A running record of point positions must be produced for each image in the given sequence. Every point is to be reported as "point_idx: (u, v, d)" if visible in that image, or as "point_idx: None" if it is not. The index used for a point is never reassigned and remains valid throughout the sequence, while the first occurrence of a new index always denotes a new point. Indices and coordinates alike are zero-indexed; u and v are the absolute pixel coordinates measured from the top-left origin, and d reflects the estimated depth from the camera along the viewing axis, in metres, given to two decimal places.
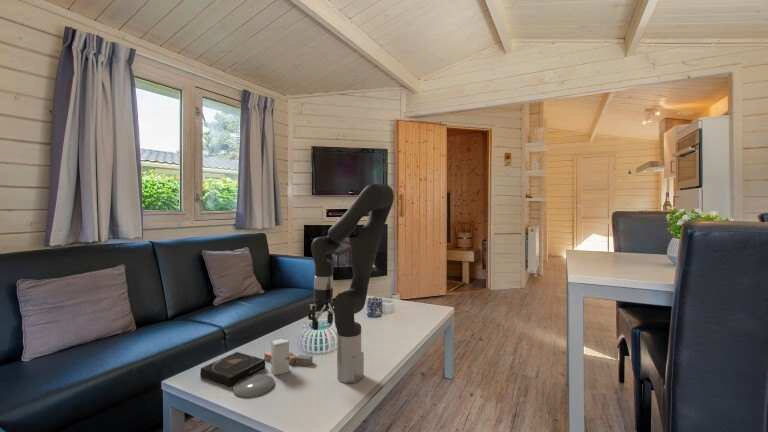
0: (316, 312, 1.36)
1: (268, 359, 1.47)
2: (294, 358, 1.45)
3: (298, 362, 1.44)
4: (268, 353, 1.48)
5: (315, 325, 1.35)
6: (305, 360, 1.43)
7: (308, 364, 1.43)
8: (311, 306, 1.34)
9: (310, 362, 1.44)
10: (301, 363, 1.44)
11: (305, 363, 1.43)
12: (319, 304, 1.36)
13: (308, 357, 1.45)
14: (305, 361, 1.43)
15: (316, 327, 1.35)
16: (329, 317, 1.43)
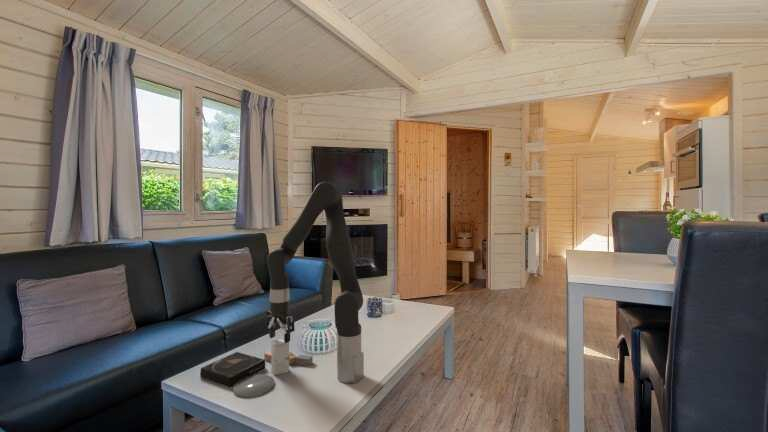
0: (286, 325, 1.36)
1: (268, 359, 1.47)
2: (293, 358, 1.44)
3: (298, 362, 1.44)
4: (268, 353, 1.48)
5: None
6: (304, 360, 1.43)
7: (308, 364, 1.43)
8: (291, 318, 1.34)
9: (310, 362, 1.44)
10: (301, 363, 1.44)
11: (305, 363, 1.43)
12: None
13: (308, 357, 1.45)
14: (305, 361, 1.43)
15: None
16: (272, 331, 1.40)
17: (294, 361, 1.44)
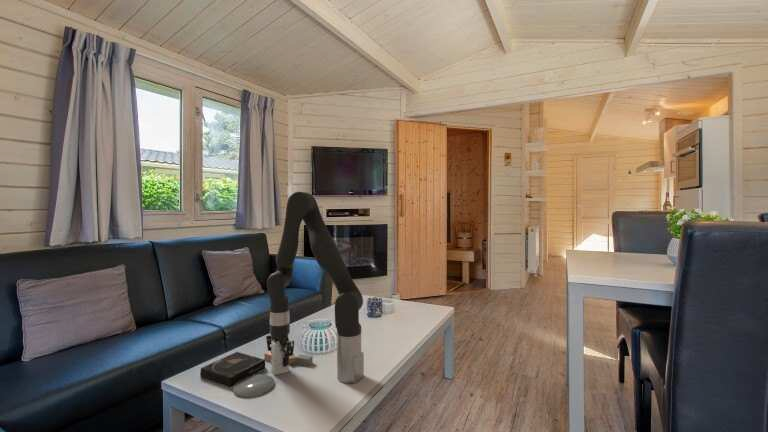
0: (285, 348, 1.36)
1: (268, 359, 1.47)
2: (293, 358, 1.44)
3: (298, 362, 1.44)
4: (268, 353, 1.48)
5: None
6: (304, 360, 1.43)
7: (307, 364, 1.43)
8: (292, 343, 1.34)
9: (310, 362, 1.44)
10: (301, 363, 1.44)
11: (305, 363, 1.43)
12: None
13: (308, 357, 1.45)
14: (305, 361, 1.43)
15: None
16: None
17: (293, 361, 1.44)
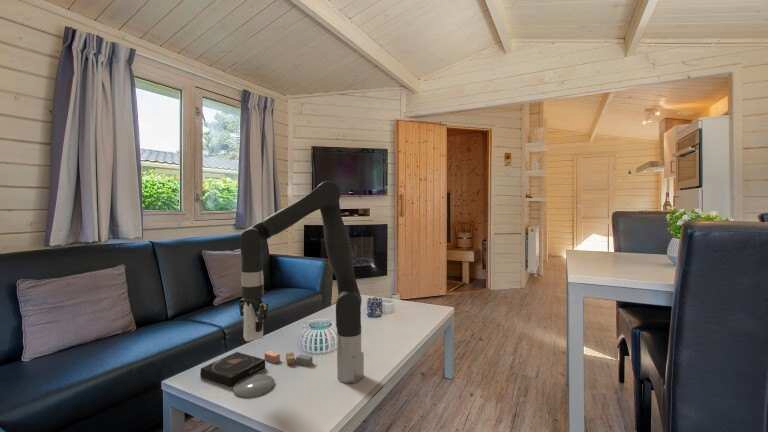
0: (258, 312, 1.24)
1: (268, 359, 1.47)
2: (291, 359, 1.44)
3: (298, 362, 1.44)
4: (268, 353, 1.48)
5: (261, 325, 1.25)
6: (304, 360, 1.43)
7: (307, 364, 1.43)
8: (265, 306, 1.22)
9: (309, 363, 1.43)
10: (301, 363, 1.44)
11: (304, 363, 1.43)
12: None
13: (308, 357, 1.44)
14: (305, 361, 1.43)
15: (261, 327, 1.25)
16: None
17: (292, 362, 1.44)
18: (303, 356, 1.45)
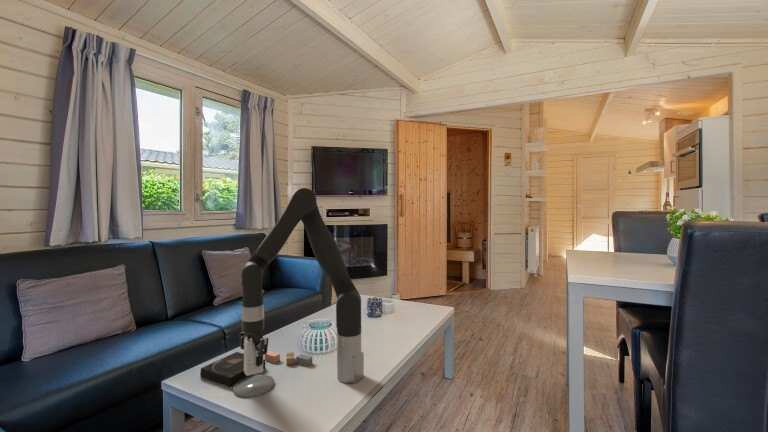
0: None
1: (268, 359, 1.47)
2: (290, 359, 1.44)
3: (298, 362, 1.45)
4: (268, 353, 1.48)
5: None
6: (304, 360, 1.43)
7: (306, 365, 1.43)
8: (265, 341, 1.23)
9: (309, 363, 1.43)
10: (300, 363, 1.44)
11: (304, 363, 1.43)
12: None
13: (308, 357, 1.44)
14: (304, 361, 1.43)
15: None
16: None
17: (291, 362, 1.44)
18: (303, 356, 1.45)
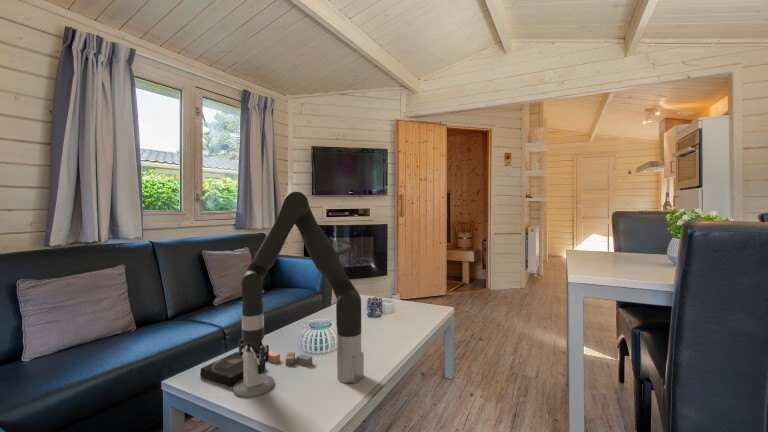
0: None
1: None
2: (290, 359, 1.44)
3: (298, 362, 1.45)
4: None
5: (263, 367, 1.25)
6: (303, 360, 1.43)
7: (306, 365, 1.42)
8: (266, 348, 1.23)
9: (309, 363, 1.43)
10: (300, 363, 1.44)
11: (304, 363, 1.43)
12: None
13: (308, 357, 1.44)
14: (304, 361, 1.43)
15: (263, 369, 1.25)
16: None
17: (290, 362, 1.44)
18: (303, 356, 1.45)
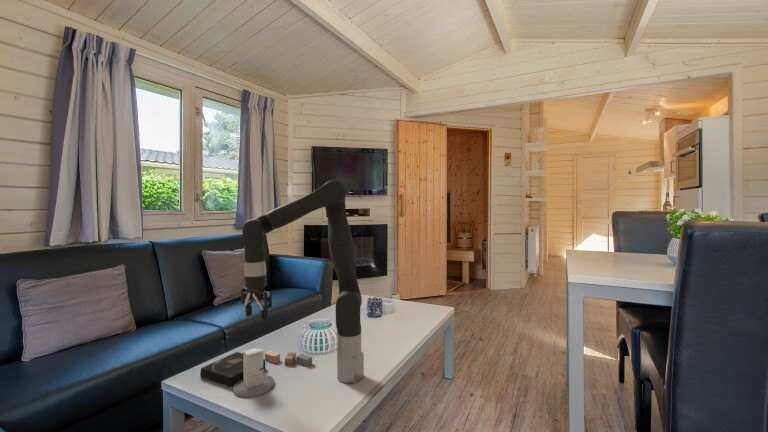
0: (262, 301, 1.25)
1: (268, 359, 1.47)
2: (289, 359, 1.44)
3: (298, 361, 1.45)
4: (268, 353, 1.48)
5: None
6: (303, 360, 1.43)
7: (306, 365, 1.42)
8: (268, 293, 1.24)
9: (308, 363, 1.43)
10: (300, 363, 1.44)
11: (303, 363, 1.43)
12: None
13: (307, 357, 1.44)
14: (304, 361, 1.43)
15: None
16: (249, 309, 1.30)
17: (289, 362, 1.44)
18: (303, 356, 1.45)
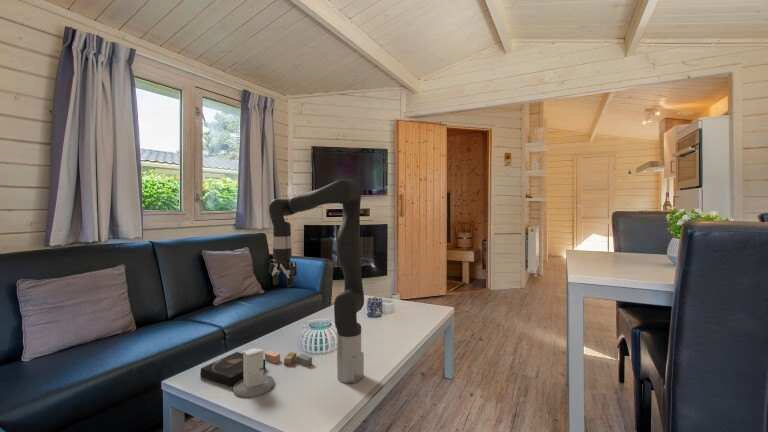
0: (288, 270, 1.44)
1: (268, 359, 1.47)
2: (288, 359, 1.44)
3: (298, 361, 1.45)
4: (268, 353, 1.48)
5: None
6: (303, 360, 1.43)
7: (305, 365, 1.42)
8: (294, 263, 1.42)
9: (308, 363, 1.43)
10: (300, 362, 1.44)
11: (303, 363, 1.43)
12: None
13: (307, 357, 1.44)
14: (303, 361, 1.43)
15: None
16: (276, 278, 1.48)
17: (288, 362, 1.44)
18: (303, 356, 1.45)
